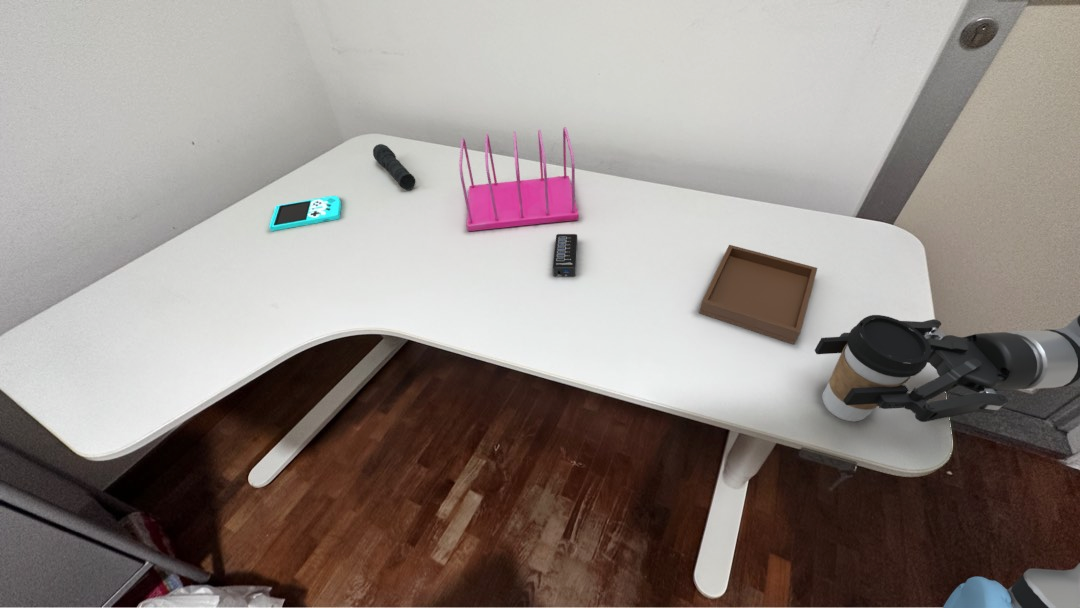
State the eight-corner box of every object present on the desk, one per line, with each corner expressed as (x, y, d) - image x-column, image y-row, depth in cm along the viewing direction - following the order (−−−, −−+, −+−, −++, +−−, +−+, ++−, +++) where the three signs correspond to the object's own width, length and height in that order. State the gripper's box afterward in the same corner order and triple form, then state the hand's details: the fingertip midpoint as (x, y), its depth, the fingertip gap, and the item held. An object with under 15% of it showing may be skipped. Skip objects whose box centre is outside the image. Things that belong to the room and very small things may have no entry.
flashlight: (392, 157, 130) (386, 141, 127) (419, 187, 118) (414, 169, 114) (375, 163, 129) (369, 146, 125) (401, 194, 116) (395, 176, 112)
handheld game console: (339, 219, 109) (337, 214, 108) (270, 232, 108) (267, 227, 107) (342, 198, 116) (340, 193, 115) (277, 209, 115) (274, 204, 114)
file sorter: (578, 221, 102) (578, 156, 91) (467, 232, 102) (453, 168, 91) (569, 181, 115) (567, 119, 104) (470, 191, 115) (458, 130, 103)
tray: (794, 344, 74) (800, 332, 72) (698, 313, 80) (701, 301, 78) (811, 280, 84) (817, 267, 82) (725, 256, 91) (729, 244, 89)
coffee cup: (820, 370, 70) (862, 302, 60) (883, 396, 67) (940, 328, 56) (805, 410, 66) (848, 344, 55) (872, 440, 62) (932, 375, 51)
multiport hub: (577, 242, 97) (577, 233, 95) (575, 276, 89) (575, 267, 88) (556, 242, 98) (556, 233, 96) (553, 276, 90) (552, 267, 88)
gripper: (1054, 446, 55) (861, 456, 56) (944, 322, 69) (792, 331, 70) (1104, 413, 50) (890, 424, 50) (974, 286, 64) (809, 296, 65)
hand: (833, 370), depth 60 cm, fingers closed on coffee cup, 8 cm apart
